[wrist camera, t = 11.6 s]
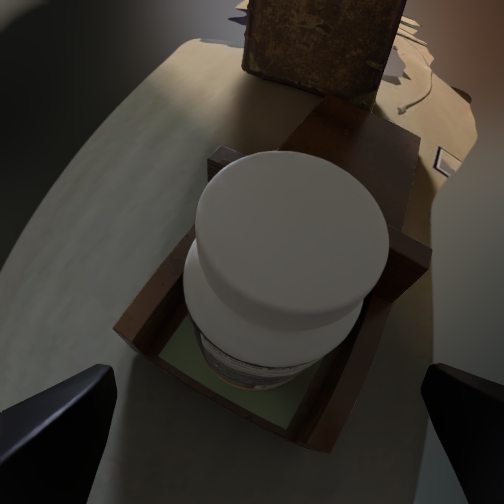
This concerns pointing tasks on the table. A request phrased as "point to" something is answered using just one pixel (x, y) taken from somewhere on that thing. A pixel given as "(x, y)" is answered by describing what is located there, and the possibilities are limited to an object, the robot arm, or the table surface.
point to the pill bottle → (280, 265)
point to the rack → (374, 304)
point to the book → (323, 44)
